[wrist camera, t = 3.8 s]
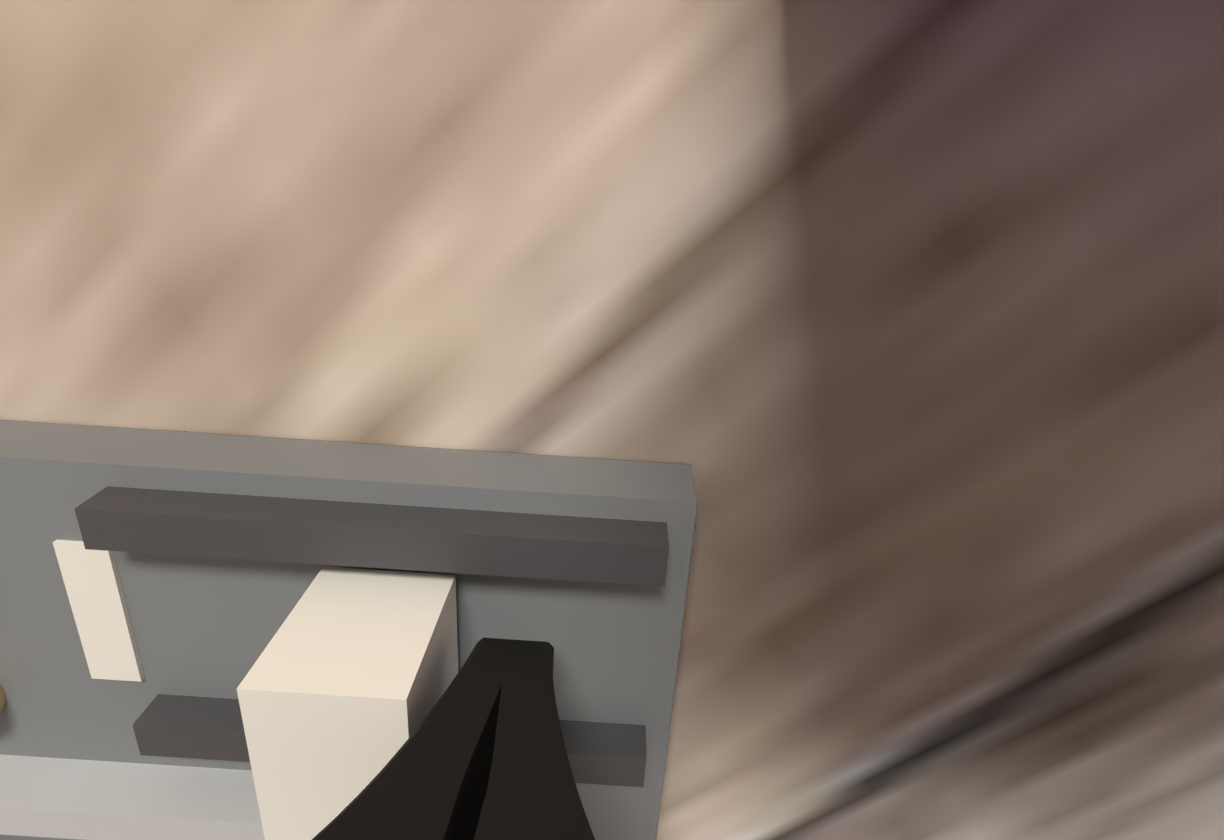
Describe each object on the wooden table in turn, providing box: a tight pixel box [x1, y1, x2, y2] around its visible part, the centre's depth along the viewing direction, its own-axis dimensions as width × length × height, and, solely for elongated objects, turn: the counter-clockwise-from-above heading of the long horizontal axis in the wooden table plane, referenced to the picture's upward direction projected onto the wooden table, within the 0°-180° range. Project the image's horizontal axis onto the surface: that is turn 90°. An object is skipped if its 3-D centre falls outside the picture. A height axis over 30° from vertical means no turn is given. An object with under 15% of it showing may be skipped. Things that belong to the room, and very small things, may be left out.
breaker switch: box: [237, 567, 458, 840], centre depth 12 cm, size 3×2×3 cm
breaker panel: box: [0, 420, 697, 840], centre depth 15 cm, size 16×18×3 cm
